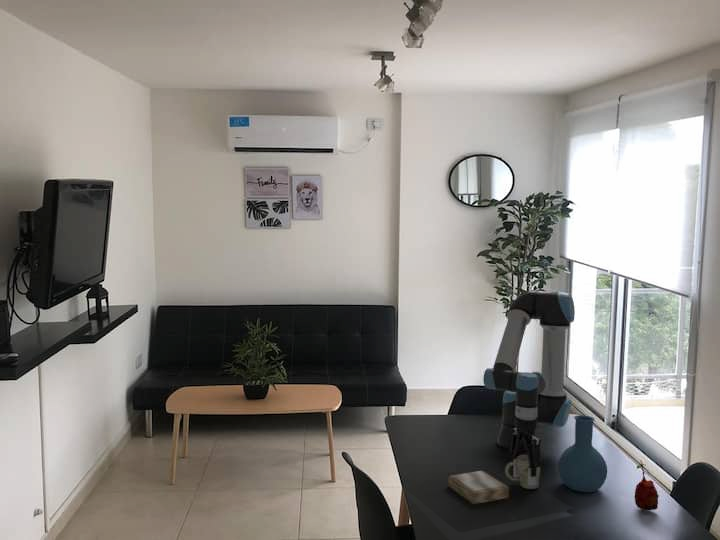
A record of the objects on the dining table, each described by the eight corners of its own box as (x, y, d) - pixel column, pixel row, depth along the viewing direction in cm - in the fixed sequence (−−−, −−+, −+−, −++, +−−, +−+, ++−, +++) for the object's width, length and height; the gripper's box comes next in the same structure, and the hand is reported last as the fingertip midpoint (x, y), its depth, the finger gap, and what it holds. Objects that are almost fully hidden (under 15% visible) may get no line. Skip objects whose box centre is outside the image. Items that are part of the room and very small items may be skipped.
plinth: (481, 480, 236) (482, 469, 236) (508, 497, 221) (508, 486, 221) (448, 486, 230) (448, 475, 230) (473, 504, 216) (473, 492, 215)
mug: (542, 490, 226) (542, 462, 226) (505, 489, 228) (504, 461, 228) (540, 482, 234) (540, 454, 234) (505, 481, 237) (504, 453, 236)
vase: (582, 500, 220) (585, 427, 218) (547, 482, 235) (549, 414, 233) (617, 491, 228) (619, 421, 226) (580, 474, 242) (583, 409, 241)
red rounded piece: (645, 513, 211) (647, 468, 209) (628, 504, 217) (630, 460, 216) (662, 509, 214) (664, 465, 213) (645, 501, 220) (647, 457, 219)
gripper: (500, 410, 237) (498, 471, 239) (536, 426, 219) (533, 493, 220) (517, 408, 240) (515, 469, 242) (553, 424, 222) (551, 489, 223)
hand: (524, 480), depth 231 cm, fingers closed on mug, 7 cm apart
